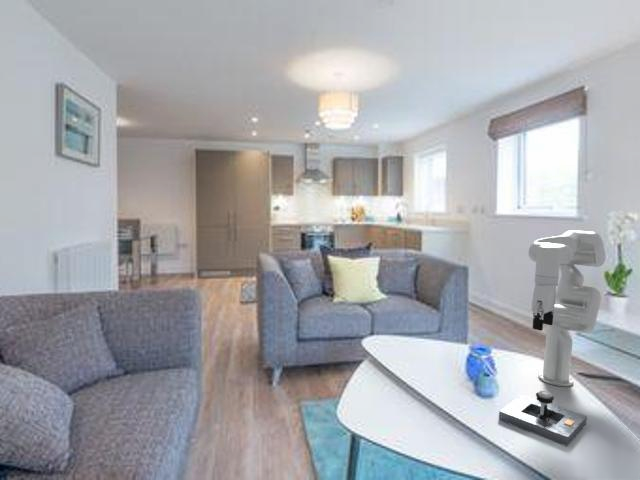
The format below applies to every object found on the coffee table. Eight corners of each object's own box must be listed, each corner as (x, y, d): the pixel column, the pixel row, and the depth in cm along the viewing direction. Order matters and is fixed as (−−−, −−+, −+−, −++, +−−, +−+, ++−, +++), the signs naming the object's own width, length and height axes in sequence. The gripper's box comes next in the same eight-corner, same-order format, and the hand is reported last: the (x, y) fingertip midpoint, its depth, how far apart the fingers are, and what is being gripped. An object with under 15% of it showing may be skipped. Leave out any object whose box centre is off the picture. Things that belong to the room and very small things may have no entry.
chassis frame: (521, 401, 160) (522, 393, 160) (586, 424, 145) (587, 415, 145) (498, 419, 147) (499, 410, 147) (567, 446, 132) (568, 436, 132)
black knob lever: (546, 429, 142) (549, 399, 141) (529, 422, 146) (532, 393, 145) (554, 422, 147) (556, 393, 145) (537, 415, 150) (539, 388, 149)
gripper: (544, 275, 165) (540, 320, 166) (525, 281, 153) (522, 329, 155) (566, 279, 159) (562, 324, 161) (548, 285, 147) (544, 334, 149)
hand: (542, 326), depth 158 cm, fingers open, 9 cm apart
